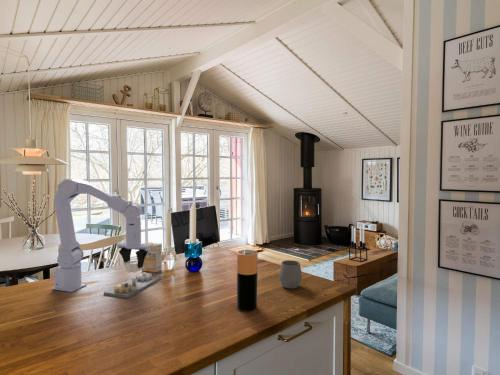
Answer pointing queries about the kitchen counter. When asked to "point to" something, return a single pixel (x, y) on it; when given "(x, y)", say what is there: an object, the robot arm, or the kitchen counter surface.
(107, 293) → the gear board
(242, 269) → the battery
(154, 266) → the supplement box
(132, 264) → the loose gear
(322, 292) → the kitchen counter surface
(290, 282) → the cup
